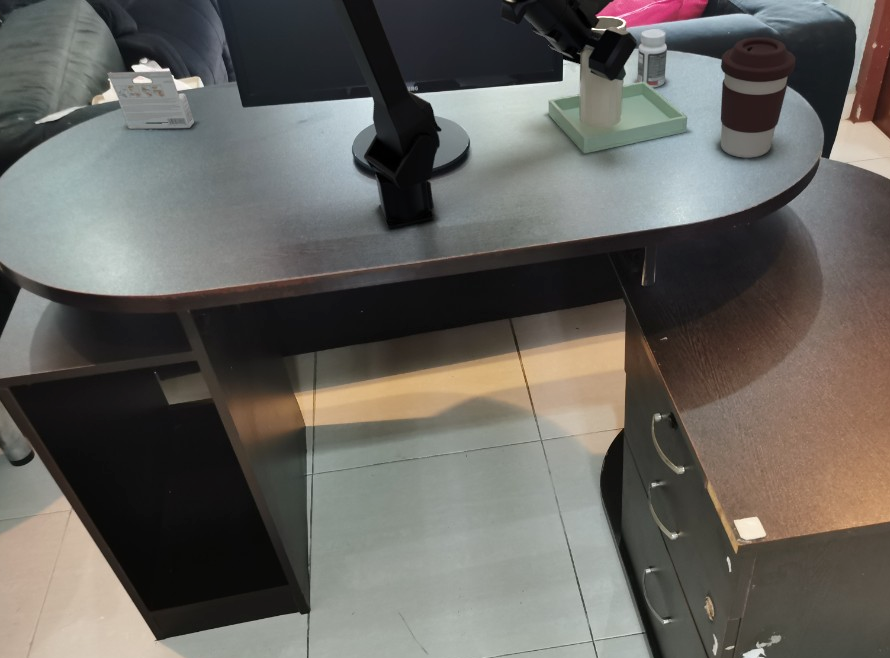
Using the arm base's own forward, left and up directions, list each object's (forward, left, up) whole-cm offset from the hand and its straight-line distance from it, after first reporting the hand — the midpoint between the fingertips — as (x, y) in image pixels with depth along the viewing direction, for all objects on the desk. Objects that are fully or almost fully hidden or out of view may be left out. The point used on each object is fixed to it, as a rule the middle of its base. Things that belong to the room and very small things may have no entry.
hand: (608, 70), depth 124 cm
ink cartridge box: (-67, +35, -10) cm, 76 cm away
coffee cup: (+17, -13, -10) cm, 24 cm away
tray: (+3, +3, -10) cm, 11 cm away
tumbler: (-1, -1, -7) cm, 7 cm away
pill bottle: (+15, +15, -10) cm, 23 cm away
